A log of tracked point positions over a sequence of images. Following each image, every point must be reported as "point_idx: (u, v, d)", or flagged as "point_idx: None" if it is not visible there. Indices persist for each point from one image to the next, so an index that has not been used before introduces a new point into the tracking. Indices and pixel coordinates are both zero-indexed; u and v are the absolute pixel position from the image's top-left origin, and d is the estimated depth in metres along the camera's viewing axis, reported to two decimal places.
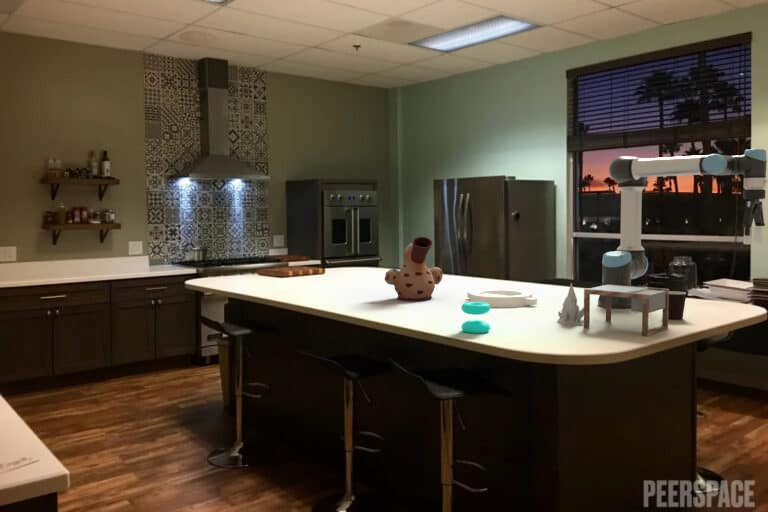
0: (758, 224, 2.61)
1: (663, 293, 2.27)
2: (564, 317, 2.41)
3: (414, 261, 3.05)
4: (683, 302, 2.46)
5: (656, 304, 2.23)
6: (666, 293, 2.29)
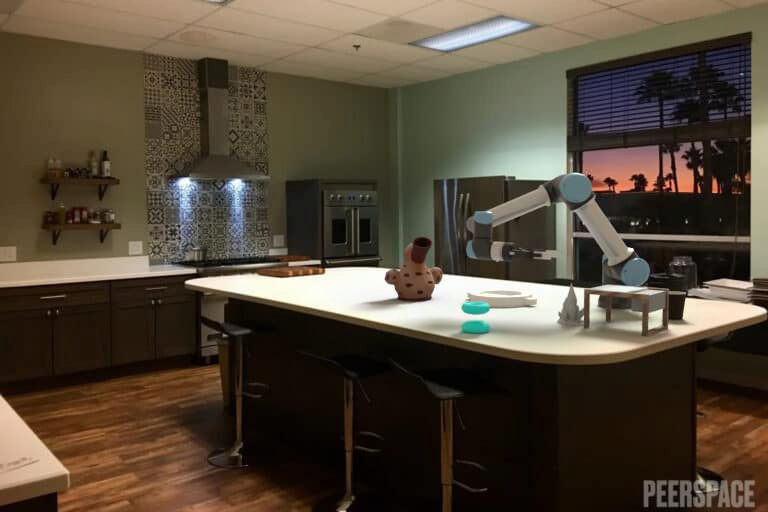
0: None
1: (663, 293, 2.27)
2: (564, 317, 2.41)
3: (414, 261, 3.05)
4: (683, 302, 2.46)
5: (656, 304, 2.23)
6: (666, 293, 2.29)
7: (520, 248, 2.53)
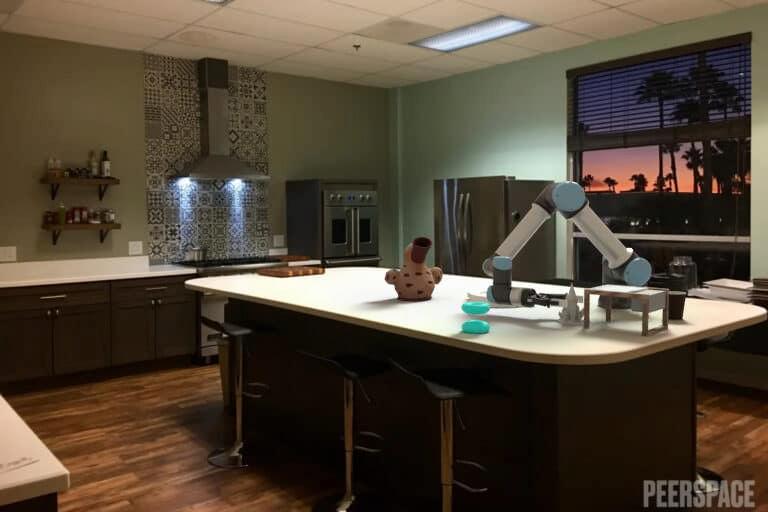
0: None
1: (663, 293, 2.27)
2: (565, 317, 2.41)
3: (414, 261, 3.05)
4: (683, 302, 2.46)
5: (656, 304, 2.23)
6: (666, 293, 2.29)
7: (539, 294, 2.51)
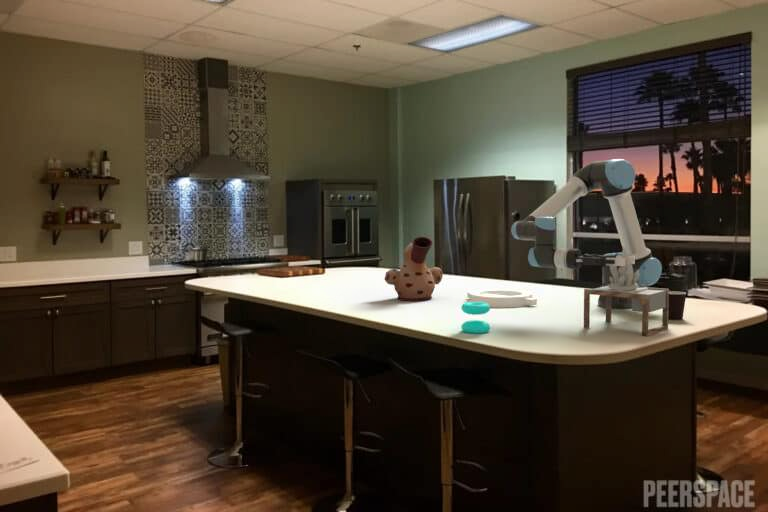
0: None
1: (663, 292, 2.27)
2: (621, 283, 2.27)
3: (414, 261, 3.05)
4: (683, 302, 2.46)
5: (656, 304, 2.23)
6: (666, 293, 2.29)
7: (586, 254, 2.38)
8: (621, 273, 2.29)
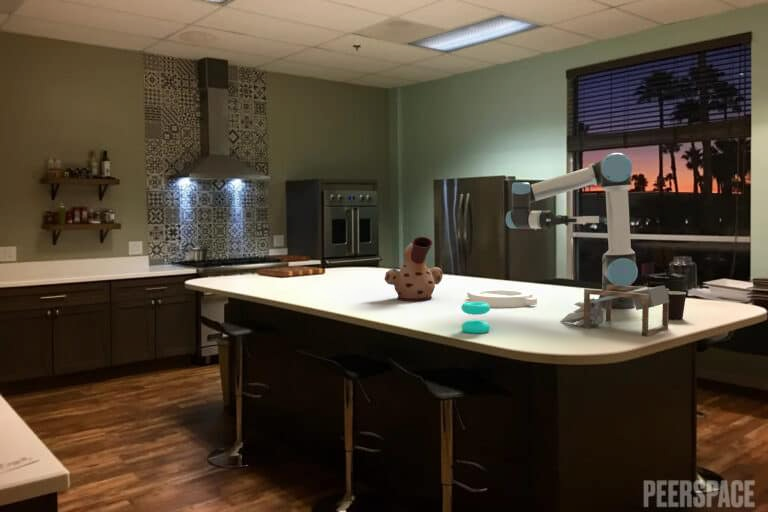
0: None
1: (663, 287, 2.27)
2: None
3: (414, 261, 3.05)
4: (683, 302, 2.46)
5: (658, 298, 2.22)
6: None
7: (556, 215, 2.64)
8: (581, 319, 2.38)
